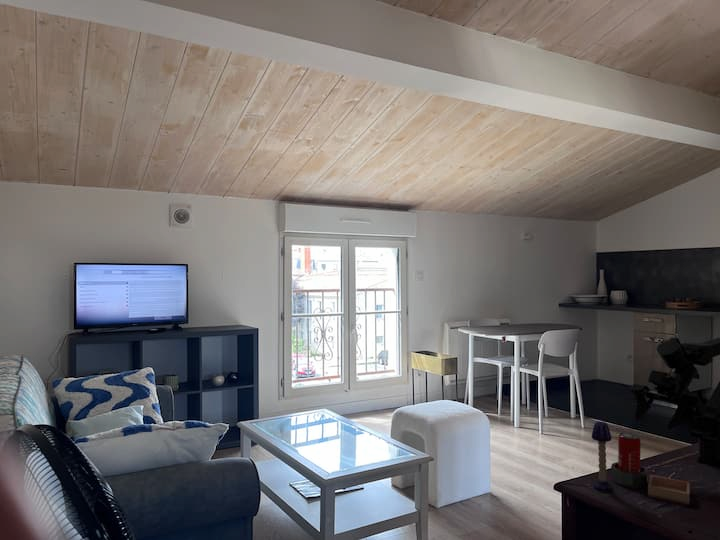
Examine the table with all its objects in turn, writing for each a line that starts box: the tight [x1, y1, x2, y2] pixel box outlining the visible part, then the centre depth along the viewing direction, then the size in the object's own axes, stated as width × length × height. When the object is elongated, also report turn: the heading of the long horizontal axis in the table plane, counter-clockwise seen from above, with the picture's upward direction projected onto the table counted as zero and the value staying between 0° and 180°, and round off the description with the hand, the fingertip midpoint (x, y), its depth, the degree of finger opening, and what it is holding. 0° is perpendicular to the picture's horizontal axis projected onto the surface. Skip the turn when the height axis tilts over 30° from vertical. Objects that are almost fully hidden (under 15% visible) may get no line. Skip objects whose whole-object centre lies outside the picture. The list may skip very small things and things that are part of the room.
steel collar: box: [610, 461, 649, 489], centre depth 143 cm, size 8×8×4 cm
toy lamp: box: [591, 421, 613, 493], centre depth 138 cm, size 5×5×17 cm
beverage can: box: [617, 432, 641, 473], centre depth 143 cm, size 5×5×12 cm
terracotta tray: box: [647, 474, 691, 505], centre depth 135 cm, size 9×9×2 cm
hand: (652, 423), depth 146 cm, fingers open, 9 cm apart
